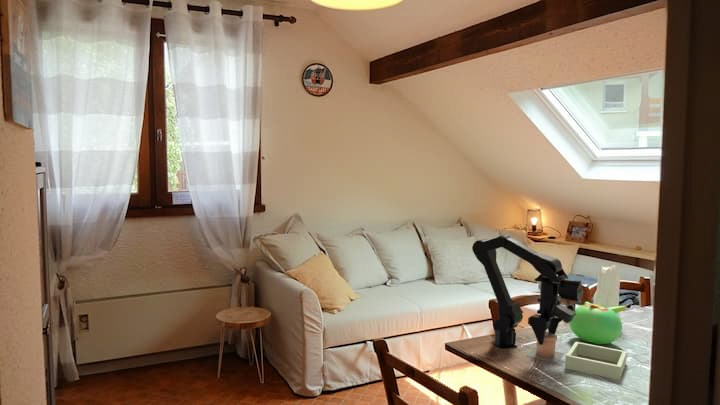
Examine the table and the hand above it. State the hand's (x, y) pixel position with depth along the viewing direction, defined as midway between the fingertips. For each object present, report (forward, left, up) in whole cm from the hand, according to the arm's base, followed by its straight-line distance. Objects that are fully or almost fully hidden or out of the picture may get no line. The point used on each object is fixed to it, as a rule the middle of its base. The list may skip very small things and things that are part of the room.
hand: (546, 341), depth 186 cm
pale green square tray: (+10, -12, -5) cm, 17 cm away
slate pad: (0, 0, -5) cm, 5 cm away
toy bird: (+27, +8, -6) cm, 29 cm away
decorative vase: (+47, +25, -6) cm, 54 cm away
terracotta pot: (0, 0, -5) cm, 5 cm away
